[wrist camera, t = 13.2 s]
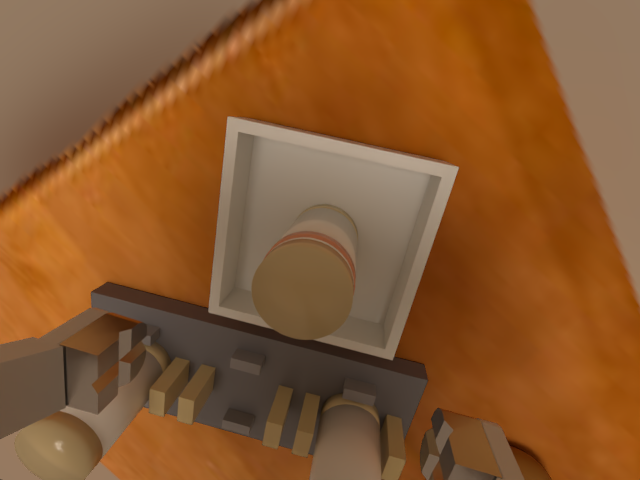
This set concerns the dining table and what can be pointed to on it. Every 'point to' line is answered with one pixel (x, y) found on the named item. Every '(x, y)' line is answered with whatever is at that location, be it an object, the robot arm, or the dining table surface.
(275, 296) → the marked fuse
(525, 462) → the ornamental finial
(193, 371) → the fuse block
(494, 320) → the dining table surface
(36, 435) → the fuse
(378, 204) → the tray
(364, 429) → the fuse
